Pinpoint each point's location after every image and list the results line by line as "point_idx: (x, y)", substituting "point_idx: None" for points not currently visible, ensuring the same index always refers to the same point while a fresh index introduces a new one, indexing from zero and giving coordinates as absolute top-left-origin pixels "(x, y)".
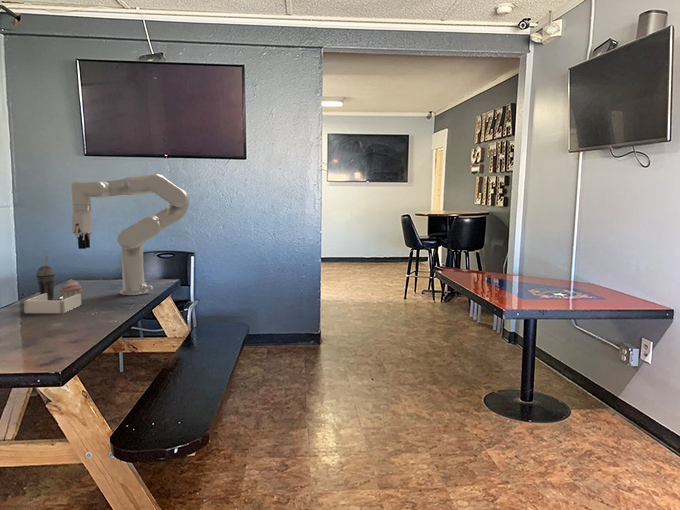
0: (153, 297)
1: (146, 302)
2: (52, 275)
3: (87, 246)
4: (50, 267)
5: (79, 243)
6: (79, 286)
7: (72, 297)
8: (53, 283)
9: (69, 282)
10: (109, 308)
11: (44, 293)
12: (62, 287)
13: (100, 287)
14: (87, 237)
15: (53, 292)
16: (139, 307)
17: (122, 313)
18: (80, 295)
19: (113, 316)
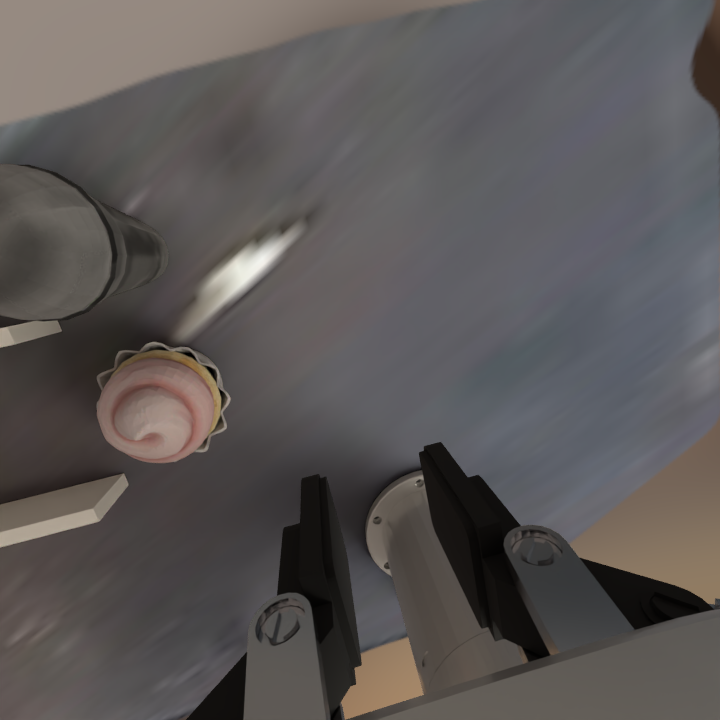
0: (361, 640)
1: None
2: (46, 320)
3: (434, 521)
4: (14, 288)
5: (282, 569)
6: (169, 460)
7: (10, 543)
8: (107, 297)
9: (119, 431)
10: (128, 623)
11: (3, 331)
12: (106, 384)
13: (514, 287)
14: (525, 644)
15: (137, 286)
16: (189, 699)
17: (81, 710)
18: (100, 516)
19: (27, 713)
